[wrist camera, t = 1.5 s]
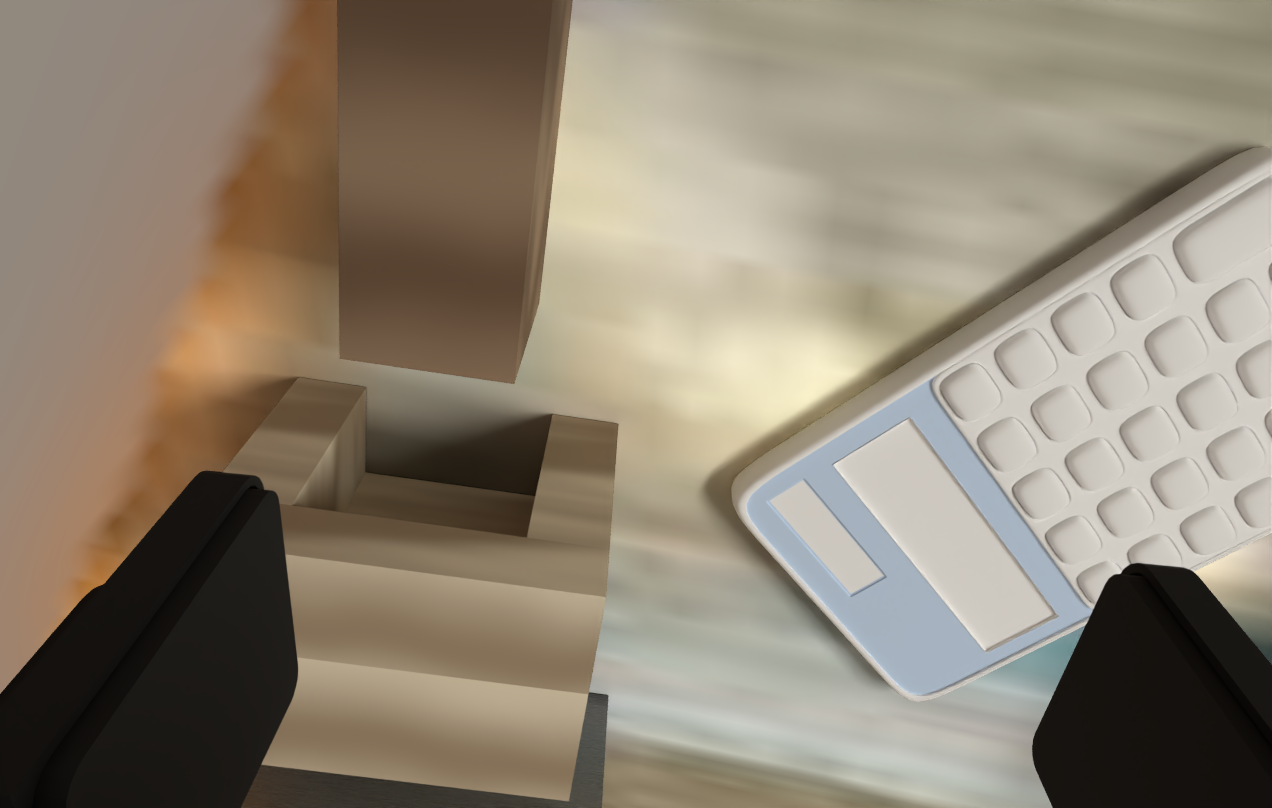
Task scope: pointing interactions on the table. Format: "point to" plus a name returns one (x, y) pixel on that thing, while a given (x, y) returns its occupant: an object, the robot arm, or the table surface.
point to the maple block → (435, 603)
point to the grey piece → (344, 804)
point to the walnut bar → (446, 178)
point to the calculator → (1043, 447)
